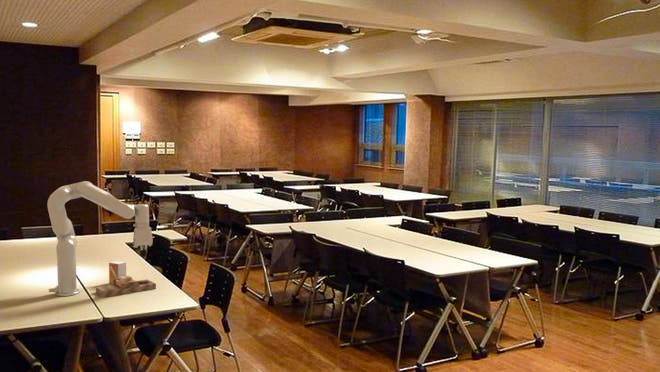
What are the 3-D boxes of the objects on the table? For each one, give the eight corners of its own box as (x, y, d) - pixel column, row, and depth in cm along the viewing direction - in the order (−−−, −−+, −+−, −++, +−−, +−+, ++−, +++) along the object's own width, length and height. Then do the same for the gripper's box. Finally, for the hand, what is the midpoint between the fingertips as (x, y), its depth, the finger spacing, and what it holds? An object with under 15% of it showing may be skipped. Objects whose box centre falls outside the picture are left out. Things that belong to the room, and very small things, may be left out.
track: (103, 297, 311) (103, 286, 311) (95, 292, 321) (95, 282, 321) (156, 288, 330) (155, 278, 330) (147, 284, 340) (146, 274, 340)
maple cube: (123, 287, 322) (123, 278, 322) (120, 285, 326) (120, 276, 325) (132, 285, 325) (132, 277, 325) (128, 283, 329) (128, 275, 329)
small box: (109, 283, 341) (108, 262, 340) (117, 281, 346) (117, 260, 345) (118, 285, 337) (117, 264, 336) (126, 283, 342) (126, 262, 341)
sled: (121, 287, 319) (121, 283, 319) (115, 284, 326) (115, 280, 326) (136, 285, 325) (136, 281, 325) (130, 282, 331) (130, 278, 331)
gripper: (132, 227, 322) (132, 259, 323) (157, 225, 331) (158, 256, 333) (127, 225, 327) (128, 257, 329) (152, 223, 337) (152, 254, 338)
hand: (143, 256), depth 331 cm, fingers closed
